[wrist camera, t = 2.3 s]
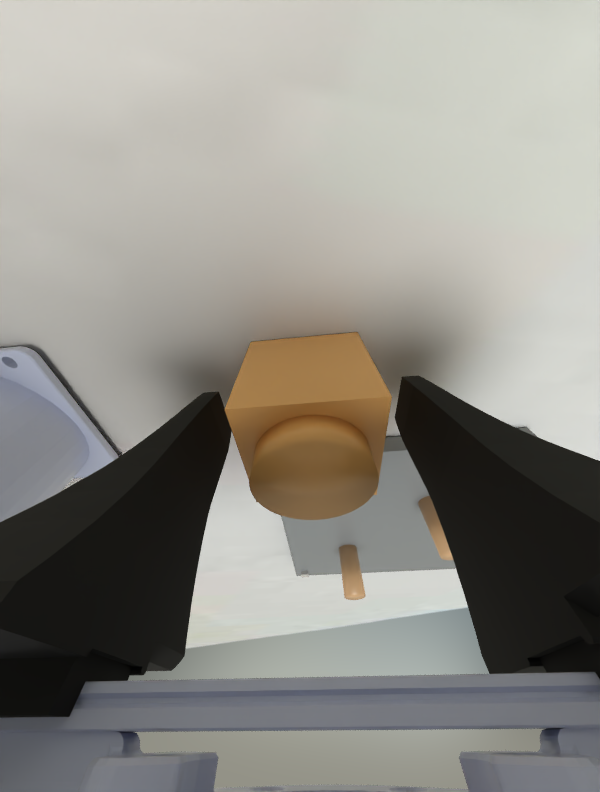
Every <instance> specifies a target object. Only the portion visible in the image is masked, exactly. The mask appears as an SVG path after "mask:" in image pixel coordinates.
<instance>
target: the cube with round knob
mask: <svg viewBox="0 0 600 792" xmlns="http://www.w3.org/2000/svg"><path fill="white" fill-rule="evenodd" d="M391 399H392V396H391V394H390V392H389V390H388V388H387V387H386V385H385V383H384V381H383V379H382V377H381V375H380V373H379V372H378V370H377V368H376V366H375V364H374V362H373V360H372V359H371V357H370V355H369V353H368V351H367V349H366V347H365V346H364V344H363V342H362V340H361V338H360V336H359V334H358V332H353V333H342V334H331V335H320V336H309V337H298V338H287V339H276V340H265V341H254V342H251V343H250V345H249V348H248V350H247V353H246V355H245V358H244V361H243V363H242V366H241V368H240V371H239V373H238V376H237V379H236V381H235V384H234V386H233V389H232V392H231V394H230V397H229V399H228V402H227V404H226V407H225V413H226V415H227V418H228V421H229V424H230V427H231V430H232V433H233V436H234V438H235V441H236V444H237V447H238V450H239V453H240V456H241V458H242V461H243V464H244V467H245V470H246V473H247V476H248V479H249V486H250V490H251V492H252V495H253V496H254V498H255V499H256V502H259V503H260V504H261V505H262V506H263V507H265V508H266V509H268V510H270V511H272V512H274V513H276V514H279V515H281V516H285V517H289V518H294V519H301V520H321V519H329V518H334V517H338V516H342V515H345V514H347V513H350V512H352V511H354V510H356V509H358V508H359V507H361V506H363V505H364V504H365V503H366V502H368V501H369V499H370V498H371V497H372V496H373V495H377V489H378V483H379V476H380V470H381V463H382V457H383V450H384V444H385V438H386V431H387V425H388V418H389V412H390V405H391Z"/></svg>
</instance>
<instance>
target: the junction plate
mask: <svg viewBox="0 0 600 792" xmlns="http://www.w3.org/2000/svg"><path fill="white" fill-rule="evenodd" d="M517 429H520V430H522V431H524V432H526V433H529V434H531V435H533V436H536V435H535V434H534V433H533V432H532V431H530V430H529V429H528V428H527V427H526V428H517ZM536 437H537V436H536ZM281 517H282V521H283V525H284V529H285V532H286V536H287V540H288V544H289V548H290V552H291V556H292V559H293V563H294V567H295V571H296V575H297V576H302V577H309V576H308V575H325V574H342V580H343V588H344V596H345V598H346V599H349V600H358V599H362V598H364V597H365V591H364V585H363V580H362V574H361V573H370V572H392V571H414V570H437V569H455V568H456V566H455V563H454V560H453V557H452V554H451V551H450V549H449V546H448V543H447V540H446V537H445V534H444V532H443V529H442V526H441V523H440V521H439V518H438V515H437V513H436V510H435V507H434V505H433V502H432V500H431V498H430V495H429V493H428V491H427V489H426V487H425V485H424V483H423V481H422V479H421V477H420V475H419V473H418V471H417V469H416V467H415V465H414V463H413V461H412V459H411V457H410V455H409V453H408V451H407V449H406V447H405V445H404V442H403V440H402V438H401V436H398V437H386V438H385V444H384V450H383V457H382V463H381V470H380V476H379V483H378V489H377V495H373V496H372V497H371V498H370V499H369V501H368V502H366V503H365V504H364V505H363V506H361V507H359V508H358V509H356V510H354V511H352V512H350V513H347V514H345V515H342V516H338V517H334V518H329V519H321V520H301V519H294V518H289V517H285V516H281Z"/></svg>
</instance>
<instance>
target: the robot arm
mask: <svg viewBox="0 0 600 792" xmlns="http://www.w3.org/2000/svg"><path fill="white" fill-rule="evenodd" d="M395 420H396V423H397V426H398V429H399V432H400V435H401V438H402V440H403V442H404V445H405V447H406V449H407V451H408V453H409V455H410V457H411V459H412V461H413V463H414V465H415V467H416V469H417V471H418V473H419V475H420V477H421V479H422V481H423V483H424V485H425V487H426V489H427V491H428V493H429V495H430V498H431V500H432V502H433V505H434V507H435V510H436V513H437V515H438V518H439V521H440V523H441V526H442V529H443V532H444V534H445V537H446V540H447V543H448V546H449V549H450V551H451V554H452V557H453V560H454V563H455V566H456V569H457V573H458V576H459V579H460V582H461V585H462V588H463V591H464V594H465V598H466V601H467V605H468V608H469V611H470V615H471V618H472V622H473V625H474V628H475V631H476V635H477V639H478V642H479V646H480V650H481V654H482V657H483V659H484V661H485V664H486V666H487V668H488V671H489V673H490V674H460V675H410V676H358V677H308V678H307V677H305V678H304V677H303V678H252V679H198V680H149V681H147V680H146V681H128V678H129V675H144V674H145V672H146V671H171V670H172V669H174V668H175V667H176V666H177V665H178V664H179V662H180V661H181V660H182V659H183V657H184V655H185V647H186V639H187V632H188V624H189V617H190V610H191V603H192V596H193V590H194V584H195V578H196V572H197V567H198V561H199V556H200V551H201V546H202V540H203V536H204V531H205V527H206V522H207V517H208V513H209V509H210V506H211V502H212V499H213V496H214V493H215V490H216V487H217V484H218V481H219V478H220V475H221V472H222V469H223V466H224V462H225V459H226V456H227V453H228V449H229V443H230V437H231V431H232V430H231V427H230V424H229V421H228V418H227V415H226V413H225V408H224V405H223V402H222V400H221V397H220V394H219V392H207V393H203V394H201V395H200V396H199V397H197V398H196V399H195V400H193V401H192V402H191V403H190V404H188V405H187V406H186V407H185V408H184V409H182V410H181V411H180V412H179V413H178V414H176V415H175V416H174V417H173V418H171V419H170V420H169V421H168V422H166V423H165V424H164V425H163V426H161V427H160V428H159V429H157V430H156V431H155V432H153V433H152V434H151V435H150V436H148V437H147V438H146V439H144V440H143V441H142V442H140V443H139V444H138V445H136V446H135V447H133V448H132V449H130V450H129V451H127V452H126V453H125V454H123V455H122V456H120V457H119V456H118V455H117V454H116V452H115V451H114V450H113V449H112V447H111V446H110V445H109V443H108V442H107V441H106V440H105V438H104V437H103V436H102V434H101V433H100V432H99V431H98V429H97V428H96V427H95V425H94V424H93V423H92V422H91V420H90V419H89V418H88V417H87V415H86V414H85V413H84V411H83V410H82V409H81V408H80V406H79V405H78V404H77V402H76V401H75V400H74V399H73V397H72V396H71V395H70V394H69V392H68V391H67V390H66V388H65V387H64V386H63V385H62V383H61V382H60V381H59V379H58V378H57V377H56V376H55V374H54V373H53V372H52V370H51V369H50V368H49V367H48V365H47V364H46V363H45V362H44V360H43V359H42V358H41V356H40V355H39V354H38V353H37V352H35V351H34V350H32V349H30V348H27V347H21V346H19V347H8V348H0V792H600V461H598V460H595V459H593V458H590V457H587V456H584V455H582V454H579V453H576V452H574V451H571V450H568V449H566V448H563V447H560V446H558V445H555V444H553V443H550V442H548V441H545V440H543V439H540V438H538V437H536V436H533V435H531V434H529V433H526V432H524V431H522V430H520V429H517V428H515V427H513V426H511V425H509V424H506V423H504V422H502V421H500V420H498V419H496V418H494V417H492V416H490V415H488V414H486V413H485V412H483V411H481V410H479V409H477V408H475V407H473V406H471V405H470V404H468V403H466V402H464V401H462V400H461V399H459V398H457V397H455V396H454V395H452V394H450V393H448V392H447V391H445V390H443V389H442V388H440V387H438V386H436V385H435V384H433V383H431V382H429V381H428V380H426V379H424V378H422V377H420V376H409V377H402V380H401V385H400V391H399V397H398V403H397V408H396V414H395ZM85 477H86V478H85ZM72 478H84V479H82V480H80V481H79V482H77V483H75V484H73V485H72V486H70V487H68V488H67V489H65V490H63V489H64V488H65V486H66V485H67V484H68V483H69V482H70V481H71V480H72ZM62 490H63V491H62ZM535 728H537V729H544V730H542V732H541V735H540V743H541V747H540V750H539V751H538V752H528V751H473V752H472V751H471V752H461V753H460V756H459V759H460V763H461V766H462V769H463V773H464V776H465V779H466V783H467V786H468V789H452V788H430V787H428V788H427V787H406V786H378V785H285V786H256V787H230V788H214V782H215V776H216V769H217V762H218V756H217V754H216V753H215V752H159V753H142V751H141V750H140V740H139V737H138V735H137V733H135V732H164V731H165V732H166V731H167V732H169V731H171V732H174V731H175V732H178V731H290V730H291V731H297V730H298V731H302V730H418V729H419V730H421V729H422V730H423V729H535Z"/></svg>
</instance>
